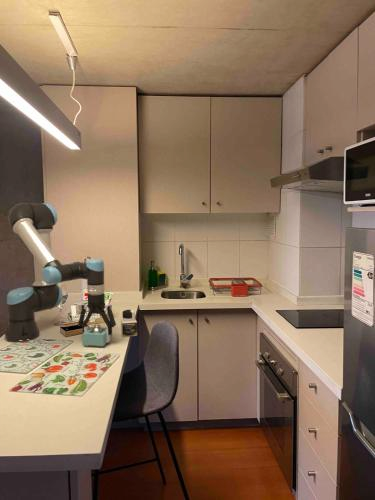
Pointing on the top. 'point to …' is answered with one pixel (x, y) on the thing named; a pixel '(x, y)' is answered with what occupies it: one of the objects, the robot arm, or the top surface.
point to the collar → (95, 337)
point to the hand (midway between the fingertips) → (97, 340)
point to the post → (97, 331)
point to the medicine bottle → (128, 323)
